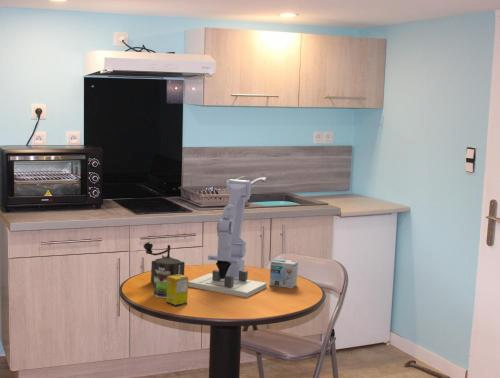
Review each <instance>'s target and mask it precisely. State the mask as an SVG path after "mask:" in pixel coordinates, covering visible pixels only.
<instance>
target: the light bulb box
mask: <svg viewBox="0 0 500 378" xmlns="http://www.w3.org/2000/svg"><path fill="white" fill-rule="evenodd" d="M298 267H299V261H297V260H296V261H295V260H289V259H281V258H274V259H272V260H271V261H270V269H269V270H270V273H269V285H270V286H275V287H282V288H286V287H287V288H288V289H293V288H294V287H296V286H297V283H298V281H297V280H298V271H299V268H298Z"/></svg>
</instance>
